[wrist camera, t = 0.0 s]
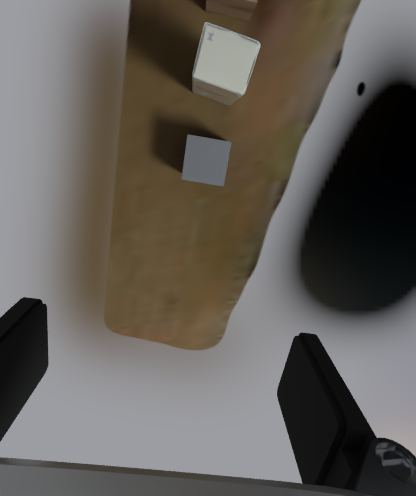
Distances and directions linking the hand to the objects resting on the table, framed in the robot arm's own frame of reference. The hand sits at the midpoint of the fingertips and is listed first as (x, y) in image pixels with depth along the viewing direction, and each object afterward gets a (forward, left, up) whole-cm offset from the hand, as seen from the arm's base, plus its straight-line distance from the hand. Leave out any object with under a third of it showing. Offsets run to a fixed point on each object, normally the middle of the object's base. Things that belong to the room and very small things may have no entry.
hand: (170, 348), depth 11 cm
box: (-14, +1, -31) cm, 34 cm away
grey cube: (-5, +1, -31) cm, 32 cm away
